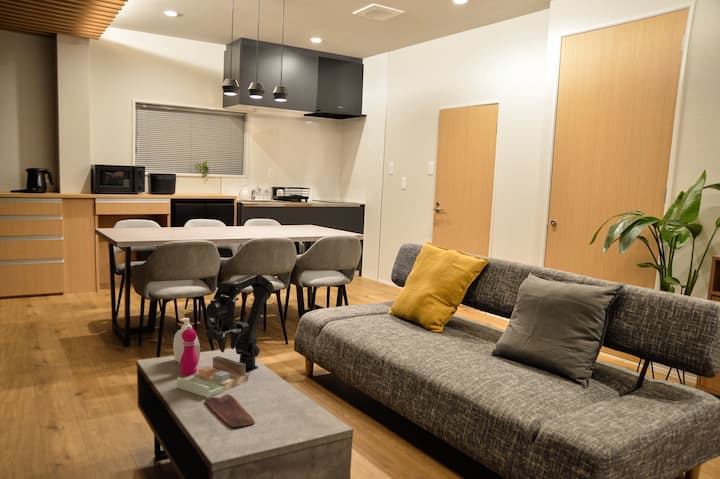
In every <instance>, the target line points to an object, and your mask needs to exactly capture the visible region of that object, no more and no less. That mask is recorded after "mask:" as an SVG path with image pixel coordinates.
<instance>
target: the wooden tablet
mask: <svg viewBox="0 0 720 479" xmlns="http://www.w3.org/2000/svg"><path fill="white" fill-rule="evenodd" d="M204 401H205V403H206V404H207V406H209V408H210V409H211V410H212V411H213V412H214V413H216V415H217V416H218V417H219V418H221V419H222V421H224V422H225V423H226V424H227V425H228V426H230V427H232V428H235V427H236V428H237V427H245V426H249V425H253V424H256V422H255V419H254V418H253V416H251V414H249V412H247V410H246V409H245V408H244V407H243V406H242V404H240V402H239V401H238V400H237V399H236V398H235V397H234V396H232V395H231V394H224V395H223V396H221V397H215V396H212V397H210V398H205V399H204Z"/></svg>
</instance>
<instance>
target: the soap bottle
mask: <svg viewBox="0 0 720 479" xmlns="http://www.w3.org/2000/svg"><path fill="white" fill-rule="evenodd" d="M179 321H180V322H184V323H183V325H181V328H180V329H179V330H177V331H176V333H175V334H174V338H173V342H172V343H173V344H172V345H173V346H172V348H173V355H174V361H175V362H178V363H179V364H180V359H181V357H182V355H183V352H184V345H183V341H184V340H183V339H182V333H183V331H184V330H186V329H187V327H188V326H191V327H192V328H191V329H193V326H192V325H191V324H190V318H189V317H183V318H180V319H179ZM194 351H195V354H196V356H197V359H198V364H199V363H200V362H199V361H200V357H201V347H200V340H199V337H198V336H197V337H196V339H195V345H194ZM198 364H197V365H196V366H198Z"/></svg>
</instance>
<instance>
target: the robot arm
mask: <svg viewBox="0 0 720 479" xmlns="http://www.w3.org/2000/svg"><path fill="white" fill-rule="evenodd" d="M249 287H251V288H252V295H253V301H252V305H251V307H250V310H249V314H248V317H247V319H246V322H243V321H241V320H239V321H236V319H238V315H237V314H236V307H237V306H236V303H237V301H239V299H240V298H239V297H237V296H238V295H240V294H241V291H242V290H244V289H247V288H249ZM274 289H275V288H274V284H273V282H272V281H270V280H269V279H268V278H266V277H264V276H263V275H262V274H261V273H257V272H250V273H249V274H246V275H245V276H242V277H240V278H237V279H235V280H224V281H221V282H220V283H219V285H218V287H217V290H216V291H215V294H214V295H213V299H211V300H210V301H209V302H210V303H209V304H207V306H206V308H205V313H206V316H207V317H209V318H207V321H206V323H207V325H206V326H207V327H209V328H210V329H207V330H205V337H206V338H208V339H212V340H215V341H216V342H217V345H218V347H219V350H220V353H225V350H226V345H227V340H228V337H227V336H225V335H226V333H228V334H229V335H230V349H231V350H234V349H235V353H236V355H239V361H238V362H240V363H243V364H246V370H245V372H250V371H251V372H252V371H253V370H256V369H258V368H259V366H257V365H256V357H258V356H259V354H260V351H261V349H260V348H259V347H258V345H257V341H258V340H257V339H258V338H257V336H256V332H257V329H258V326H259V322H260V319H261V317H262V314H263V313H262V312H263V310H264V306H265V303H266V302H267V301H268V300H269V299H270V298H271V296H272V294H273V292H274ZM215 318H216V319H215Z"/></svg>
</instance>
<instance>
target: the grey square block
mask: <svg viewBox="0 0 720 479" xmlns="http://www.w3.org/2000/svg"><path fill="white" fill-rule="evenodd" d="M228 379H230V373H229V372H225V371H222V370H221V371H218V372H216V373H213V380H216V381H219V382H223V381H226V380H228Z"/></svg>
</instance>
